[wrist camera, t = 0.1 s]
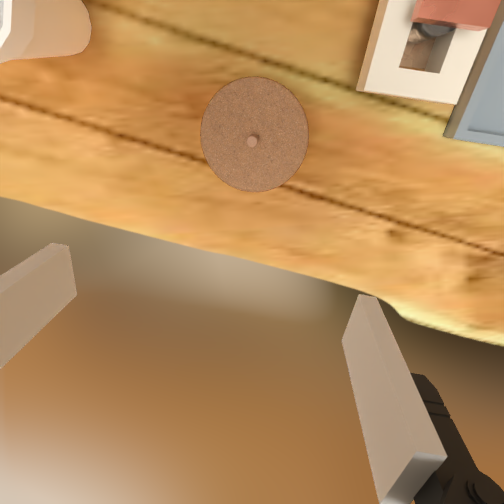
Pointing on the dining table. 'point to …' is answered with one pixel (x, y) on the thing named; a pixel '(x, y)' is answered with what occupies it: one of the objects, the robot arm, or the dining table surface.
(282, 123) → the lidded jar
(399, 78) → the slotted frame
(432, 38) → the t-stake
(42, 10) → the foam cup
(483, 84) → the tray
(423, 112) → the dining table surface
